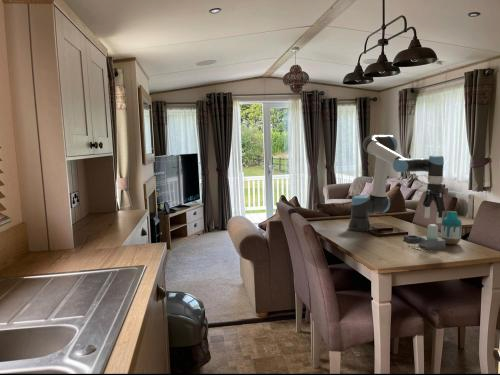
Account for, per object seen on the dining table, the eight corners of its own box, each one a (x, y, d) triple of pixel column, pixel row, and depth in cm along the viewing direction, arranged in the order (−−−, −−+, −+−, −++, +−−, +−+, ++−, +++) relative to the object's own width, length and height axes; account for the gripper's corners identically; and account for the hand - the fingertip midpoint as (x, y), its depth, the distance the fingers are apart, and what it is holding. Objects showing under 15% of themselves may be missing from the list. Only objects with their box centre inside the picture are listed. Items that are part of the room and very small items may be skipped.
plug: (426, 246, 224) (427, 224, 222) (433, 245, 224) (434, 224, 223) (430, 247, 220) (431, 225, 218) (437, 247, 220) (438, 225, 219)
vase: (449, 247, 221) (451, 213, 219) (436, 242, 232) (437, 210, 229) (465, 245, 224) (466, 212, 222) (451, 241, 234) (452, 209, 232)
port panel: (419, 244, 227) (419, 235, 226) (436, 244, 227) (436, 235, 226) (427, 249, 217) (427, 239, 216) (445, 249, 217) (445, 239, 216)
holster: (403, 239, 239) (403, 235, 239) (415, 239, 240) (415, 235, 239) (408, 242, 232) (409, 238, 232) (421, 242, 232) (421, 238, 232)
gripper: (418, 180, 230) (416, 216, 233) (439, 186, 205) (437, 225, 208) (430, 180, 230) (428, 216, 233) (453, 185, 205) (451, 225, 208)
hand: (432, 220), depth 220 cm, fingers open, 13 cm apart
